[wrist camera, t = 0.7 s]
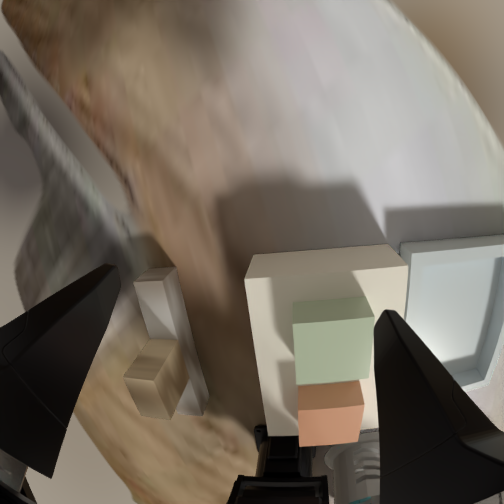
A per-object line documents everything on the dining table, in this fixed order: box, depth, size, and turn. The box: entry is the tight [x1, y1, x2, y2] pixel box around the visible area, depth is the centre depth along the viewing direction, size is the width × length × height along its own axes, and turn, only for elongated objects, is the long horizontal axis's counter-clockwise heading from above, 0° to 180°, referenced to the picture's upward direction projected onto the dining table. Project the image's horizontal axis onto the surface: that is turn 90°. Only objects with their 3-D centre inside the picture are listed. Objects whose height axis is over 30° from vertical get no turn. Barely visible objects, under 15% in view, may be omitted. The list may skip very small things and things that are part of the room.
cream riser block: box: [244, 244, 408, 436], centre depth 22 cm, size 15×10×4 cm, turn 7°
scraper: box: [123, 267, 210, 420], centre depth 22 cm, size 14×2×8 cm, turn 7°
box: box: [400, 234, 504, 392], centre depth 21 cm, size 15×12×2 cm
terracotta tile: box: [298, 381, 365, 447], centre depth 19 cm, size 4×4×2 cm
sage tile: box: [292, 296, 375, 385], centre depth 17 cm, size 4×4×2 cm
